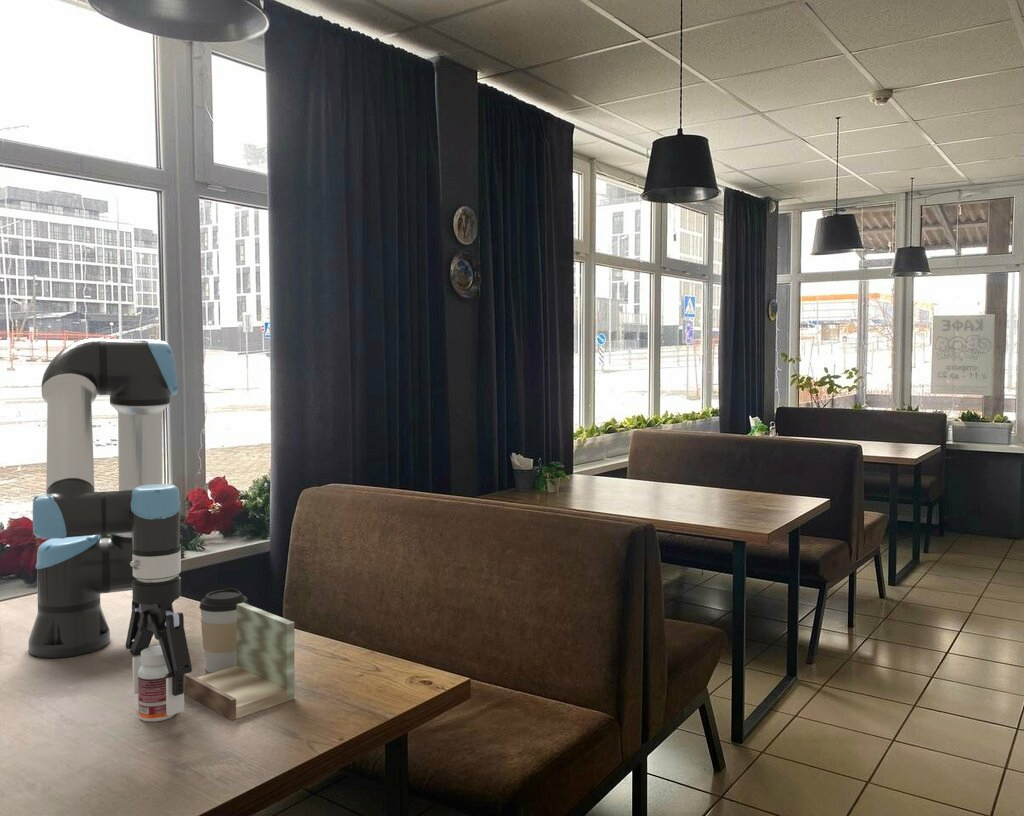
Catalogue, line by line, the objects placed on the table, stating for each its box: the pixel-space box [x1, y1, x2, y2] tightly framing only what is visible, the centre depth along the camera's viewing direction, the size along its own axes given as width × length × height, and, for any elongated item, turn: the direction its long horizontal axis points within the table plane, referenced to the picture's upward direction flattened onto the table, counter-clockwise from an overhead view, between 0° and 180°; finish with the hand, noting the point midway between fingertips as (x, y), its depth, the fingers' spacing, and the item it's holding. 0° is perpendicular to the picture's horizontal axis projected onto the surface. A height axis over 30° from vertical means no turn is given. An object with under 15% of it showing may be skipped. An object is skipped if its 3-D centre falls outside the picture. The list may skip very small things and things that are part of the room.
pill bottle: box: [137, 644, 176, 723], centre depth 140 cm, size 6×6×11 cm
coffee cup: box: [199, 587, 249, 674], centre depth 162 cm, size 9×9×15 cm
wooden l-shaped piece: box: [184, 603, 295, 721], centre depth 149 cm, size 17×12×14 cm
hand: (157, 702), depth 141 cm, fingers open, 12 cm apart
